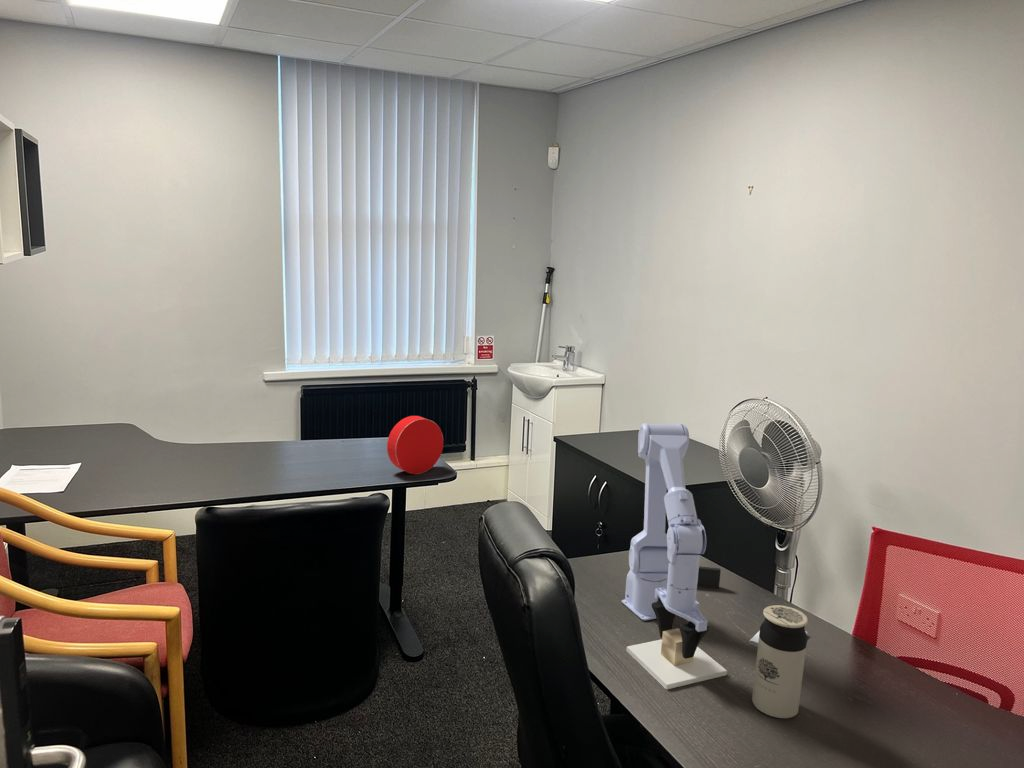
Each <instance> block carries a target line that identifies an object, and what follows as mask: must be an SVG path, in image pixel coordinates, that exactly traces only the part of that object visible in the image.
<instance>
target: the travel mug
mask: <svg viewBox="0 0 1024 768" xmlns="http://www.w3.org/2000/svg"><path fill="white" fill-rule="evenodd" d="M762 613H763V616H764V620H763V622H762V623H761V624H760V626H759V631H760V633H759V642H758V647H757V653H756V661H755V672H754V679H753V688H752V695H751V696H752V697H751V700H752V703H753V705H754V707H755V708H756V709H757V710H759V711H760V712H762V713H763V714H765V715H767V716H770V717H772V718H778V719H789V718H793V717H795V716H796V715H797V714H798V713H799V708H800V707H799V706H800V699H801V692H802V686H803V685H802V683H803V675H804V667H805V660H806V652H807V644H808V633H807V634H806V632H807V631H806V630H805V628H806V626H807V625H808V623H809V618H808V617H807V615H806V614H804V612H802V611H801V610H799V609H797V608H793V607H790V606H787V605H777V604H776V605H774V604H773V605H768V606H767V607H765V608H764V609H763V611H762ZM805 631H806V632H805Z"/></svg>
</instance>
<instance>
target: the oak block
mask: <svg viewBox="0 0 1024 768" xmlns="http://www.w3.org/2000/svg"><path fill="white" fill-rule="evenodd" d="M661 639H662V647H661V655H662V656H663V657H665V658H666V659H667V660H668V661H669V662H670V663H671V664H672V665H674V666H677V665H681V664H686V663H690V662H693V657H694V656H693V657H691V658H687V659H685V658H684V657H683V655H682V636H681V632H680V629H679V627H678V628H672V630H667V631H663V635H662V638H661Z"/></svg>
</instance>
